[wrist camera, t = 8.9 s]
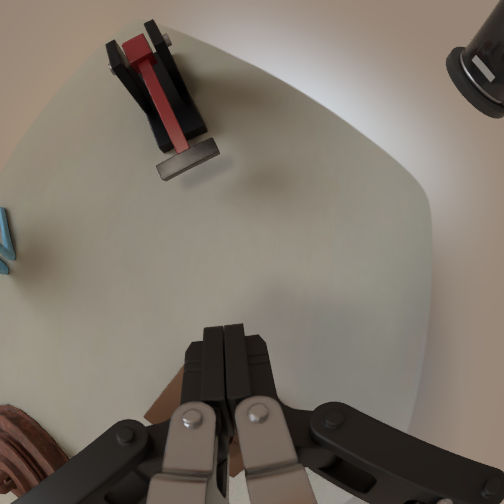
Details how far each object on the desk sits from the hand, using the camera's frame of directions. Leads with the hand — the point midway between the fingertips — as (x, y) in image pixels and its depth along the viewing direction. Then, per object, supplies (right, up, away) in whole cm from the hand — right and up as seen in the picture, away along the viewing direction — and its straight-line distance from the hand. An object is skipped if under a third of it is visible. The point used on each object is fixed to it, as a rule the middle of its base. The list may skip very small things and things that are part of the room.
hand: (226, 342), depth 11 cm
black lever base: (-9, +21, +17) cm, 28 cm away
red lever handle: (-7, +17, +11) cm, 21 cm away
